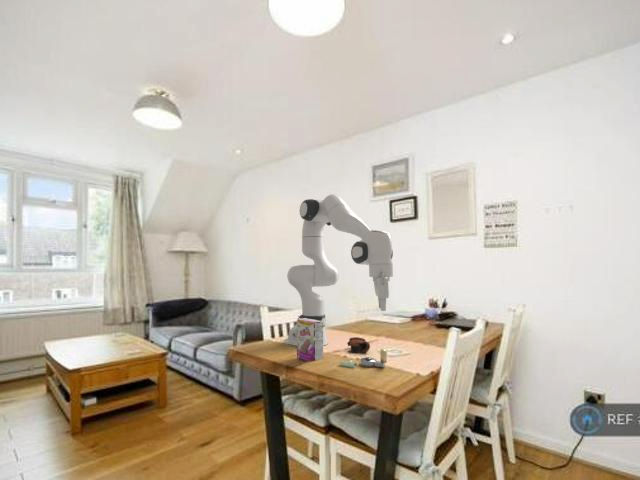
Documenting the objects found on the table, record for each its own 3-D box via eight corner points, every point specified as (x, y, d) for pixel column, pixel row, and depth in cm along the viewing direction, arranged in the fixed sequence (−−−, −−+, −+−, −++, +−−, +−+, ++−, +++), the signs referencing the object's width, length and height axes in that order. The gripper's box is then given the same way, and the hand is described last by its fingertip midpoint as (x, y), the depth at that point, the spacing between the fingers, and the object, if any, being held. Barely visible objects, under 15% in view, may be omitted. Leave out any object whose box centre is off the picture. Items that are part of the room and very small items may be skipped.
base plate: (331, 370, 120) (331, 361, 120) (353, 358, 136) (352, 349, 136) (388, 381, 109) (388, 370, 109) (405, 366, 125) (404, 357, 125)
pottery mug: (341, 356, 141) (343, 337, 146) (355, 362, 146) (356, 343, 151) (363, 353, 134) (364, 334, 138) (377, 360, 139) (377, 340, 143)
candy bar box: (296, 359, 135) (296, 319, 137) (305, 356, 139) (305, 317, 140) (314, 364, 127) (314, 322, 129) (323, 362, 131) (323, 320, 132)
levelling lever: (357, 365, 121) (357, 348, 122) (364, 361, 126) (363, 345, 127) (383, 370, 116) (383, 352, 116) (389, 365, 121) (388, 348, 121)
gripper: (392, 271, 113) (393, 312, 111) (387, 272, 133) (388, 307, 131) (373, 271, 114) (375, 312, 112) (371, 272, 134) (372, 307, 132)
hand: (382, 309), depth 122 cm, fingers open, 8 cm apart
